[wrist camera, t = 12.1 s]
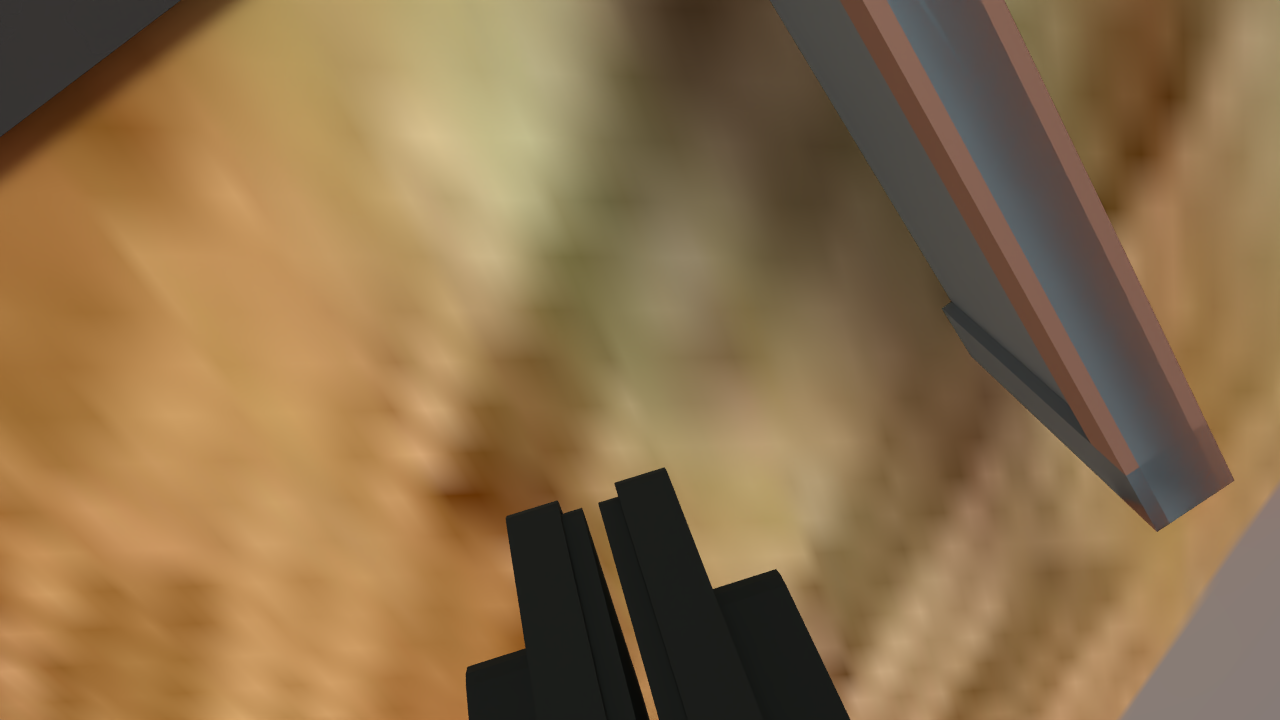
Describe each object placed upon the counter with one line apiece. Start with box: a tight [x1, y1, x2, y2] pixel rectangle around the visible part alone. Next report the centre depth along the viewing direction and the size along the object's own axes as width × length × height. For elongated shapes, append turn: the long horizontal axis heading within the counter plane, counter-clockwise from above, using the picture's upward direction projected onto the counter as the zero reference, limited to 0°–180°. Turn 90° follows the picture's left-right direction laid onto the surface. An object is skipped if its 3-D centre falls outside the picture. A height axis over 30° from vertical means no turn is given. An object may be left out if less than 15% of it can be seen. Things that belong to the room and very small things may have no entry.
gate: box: [770, 0, 1234, 532], centre depth 20 cm, size 22×2×9 cm, turn 35°
